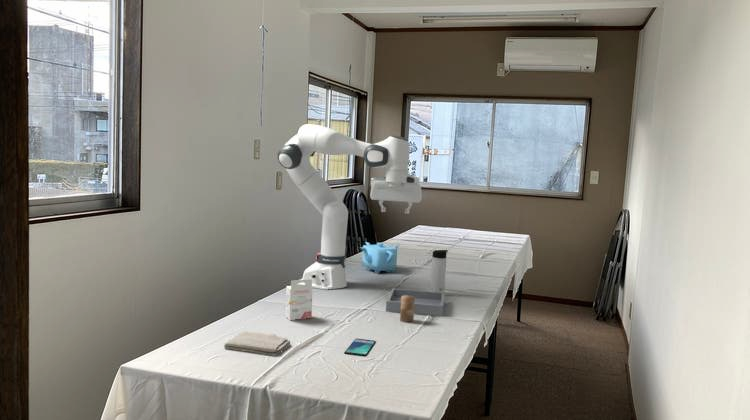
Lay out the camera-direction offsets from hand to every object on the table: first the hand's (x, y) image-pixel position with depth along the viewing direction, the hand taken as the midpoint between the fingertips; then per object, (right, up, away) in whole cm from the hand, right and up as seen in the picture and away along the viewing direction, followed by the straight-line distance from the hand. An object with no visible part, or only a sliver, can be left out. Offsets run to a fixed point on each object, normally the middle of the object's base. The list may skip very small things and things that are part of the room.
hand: (395, 212), depth 233 cm
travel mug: (+20, -37, +29) cm, 51 cm away
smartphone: (-13, -43, -46) cm, 64 cm away
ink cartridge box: (-36, -39, -18) cm, 56 cm away
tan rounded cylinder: (+4, -40, -14) cm, 43 cm away
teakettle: (-7, -31, +73) cm, 79 cm away
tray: (+9, -38, +7) cm, 40 cm away
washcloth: (-44, -42, -50) cm, 79 cm away
